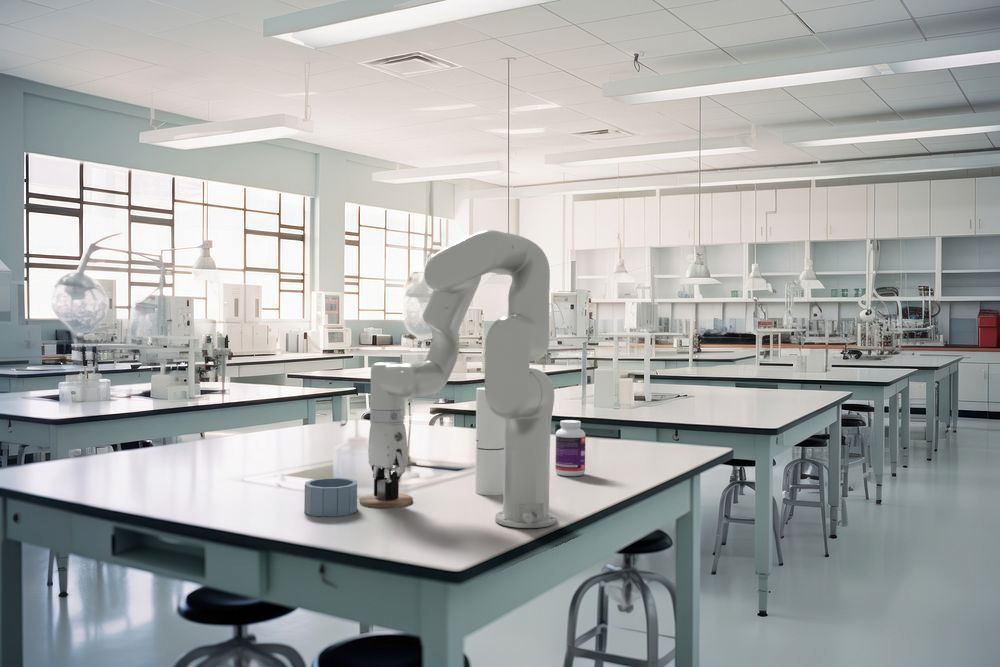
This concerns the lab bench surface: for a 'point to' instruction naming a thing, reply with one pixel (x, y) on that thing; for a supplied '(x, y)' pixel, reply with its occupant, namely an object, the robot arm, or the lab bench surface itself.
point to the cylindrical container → (488, 448)
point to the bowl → (330, 497)
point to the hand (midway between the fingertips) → (386, 496)
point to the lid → (380, 499)
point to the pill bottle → (570, 449)
